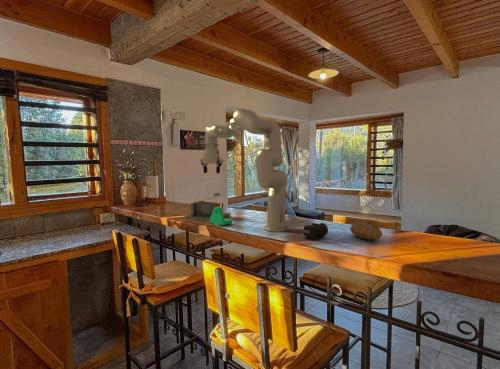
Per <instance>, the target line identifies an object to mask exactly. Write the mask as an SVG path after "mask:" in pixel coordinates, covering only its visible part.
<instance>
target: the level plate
mask: <svg viewBox="0 0 500 369" xmlns="http://www.w3.org/2000/svg"><path fill="white" fill-rule="evenodd" d="M224 196H225V194H224V193H221V194H220V193H219V192H217V193H213V195H211V196H208V197H202V198H199V199H194V200H191V201H190V204H191V203H195V202H200V201H204V202H205V201H207V200H212V199H216V198H221V197H224Z"/></svg>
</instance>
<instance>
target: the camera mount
mask: <svg viewBox="0 0 500 369" xmlns="http://www.w3.org/2000/svg"><path fill="white" fill-rule="evenodd" d="M222 213H224V210H223V208H222V206H217V207H216V206H215V208H214V210H213V212H212V215H211V217H210V219H209V221H208V222H209V223H213V225H214V224H215V226H219V225H220V226H225V225H229V224H233V219H229V218H224V217H223V215H222Z"/></svg>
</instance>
